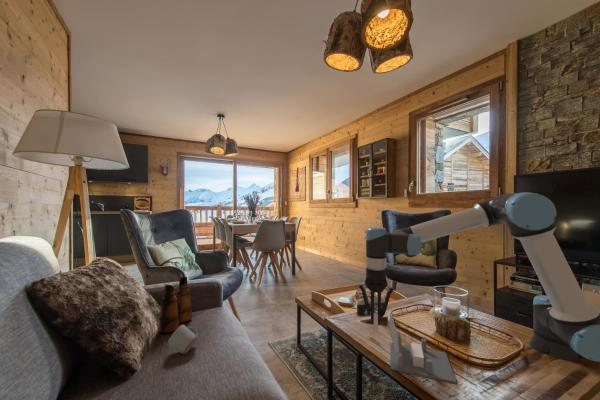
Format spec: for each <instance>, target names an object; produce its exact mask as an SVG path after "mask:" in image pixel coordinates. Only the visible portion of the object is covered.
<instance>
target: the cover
mask: <svg viewBox="0 0 600 400" xmlns="http://www.w3.org/2000/svg"><path fill="white" fill-rule="evenodd" d="M387 330H388V332H389V335H390V338H391V342H392V343H393V344H394V347H395V350H396V352H397V354H398V353H399V339H398V332H397V331H398V330H397V327H396V324H395V322H394V318H393V316H392V313H391V311H387Z"/></svg>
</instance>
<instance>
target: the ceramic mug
mask: <svg viewBox="0 0 600 400" xmlns="http://www.w3.org/2000/svg"><path fill="white" fill-rule="evenodd" d="M197 337H198V330H197V329H196V328H194V327H193V326H186V325H185V324H181V325H179V328H178V329H176V330H174V331H173V333H172V335H171V336H170V337H169V338H168V340H167V343H168V344H169V345H170V346H171V347H172V348H174V349H175V350H177V351H178V352H179V353H180V354H183V355H186V354H187V353H188V352H189V351H190V350H191V349H192V347H193V346H194V345H195V343H196V342H197V340H198V339H197Z"/></svg>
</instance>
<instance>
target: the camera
mask: <svg viewBox="0 0 600 400" xmlns="http://www.w3.org/2000/svg"><path fill="white" fill-rule="evenodd" d="M367 298H368V302H369V306H371V295H369V296H367ZM384 302H385V298H384V297H382V296H381V308H383V305H384ZM374 310H375V311H378V296H375V295H374ZM385 315H386V312H385V313H384V312H383V313H381V319H382V318H384V316H385ZM356 316H357V317H358V318H369V317H371V312H370V311H369V310H366V307H365V303H364V299H363V297H362V298H358V299H357V301H356Z"/></svg>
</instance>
